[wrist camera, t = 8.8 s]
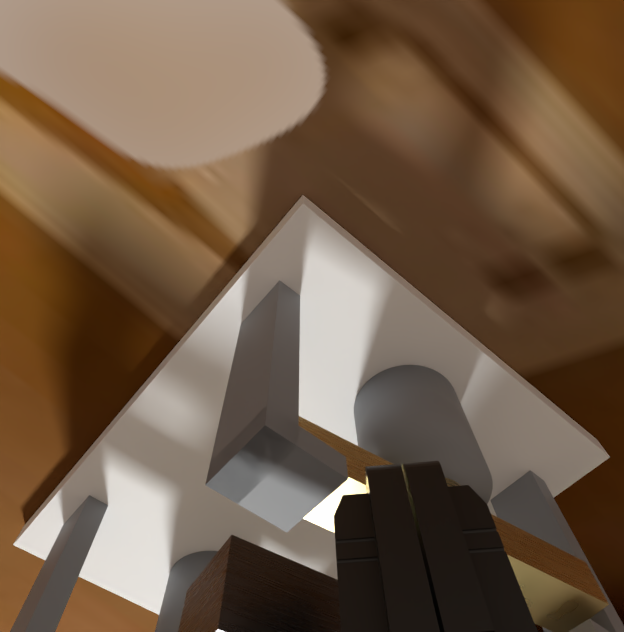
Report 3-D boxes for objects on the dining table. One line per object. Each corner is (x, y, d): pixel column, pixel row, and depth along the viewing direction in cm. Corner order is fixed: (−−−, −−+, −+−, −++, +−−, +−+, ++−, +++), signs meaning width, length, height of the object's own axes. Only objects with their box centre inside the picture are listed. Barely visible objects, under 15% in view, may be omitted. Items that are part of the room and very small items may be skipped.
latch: (584, 548, 19) (748, 843, 12) (537, 586, 20) (664, 882, 13) (256, 378, 16) (219, 651, 9) (217, 433, 17) (155, 722, 10)
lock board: (298, 660, 33) (295, 1062, 20) (24, 525, 27) (-225, 956, 14) (597, 439, 25) (901, 850, 13) (302, 194, 20) (302, 472, 7)
